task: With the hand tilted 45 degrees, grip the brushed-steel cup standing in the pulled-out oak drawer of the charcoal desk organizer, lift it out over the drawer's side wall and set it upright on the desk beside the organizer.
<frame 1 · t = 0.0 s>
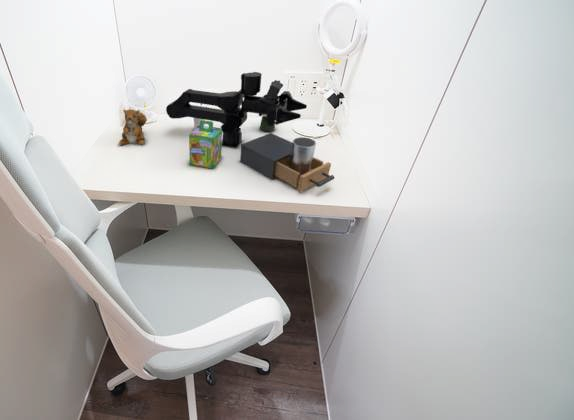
hand: (303, 111, 108), 17 cm above the table, tool horizontal, fingers open, 9 cm apart
organizer: (270, 163, 113), on the table
smoothie: (198, 130, 138), on the table, touching arm
character mug: (267, 130, 136), on the table
drawer: (302, 170, 102), point 3 cm above the table, slide at 10.0 cm, touching steel cup
stuffed squirrel: (135, 139, 133), on the table
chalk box: (206, 161, 116), on the table
steel cup: (298, 173, 104), point 2 cm above the table, touching drawer
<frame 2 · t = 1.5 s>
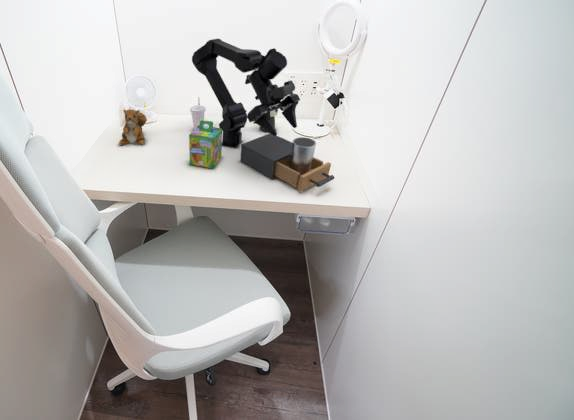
hand: (285, 131, 102), 14 cm above the table, tool tilted 45°, fingers open, 9 cm apart
smoothie: (198, 130, 138), on the table
everything else where it was.
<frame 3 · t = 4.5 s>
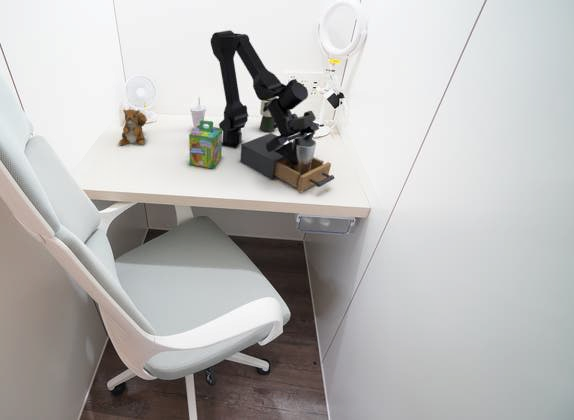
hand: (304, 161, 100), 7 cm above the table, tool tilted 45°, fingers closed on steel cup, 7 cm apart
steel cup: (298, 173, 104), point 2 cm above the table, touching drawer, gripper
everything else where it was.
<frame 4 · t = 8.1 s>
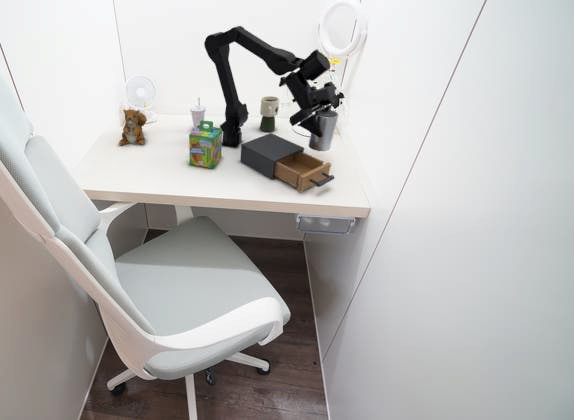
hand: (326, 133, 101), 13 cm above the table, tool tilted 45°, fingers closed on steel cup, 7 cm apart
drawer: (302, 170, 102), point 3 cm above the table, slide at 10.0 cm
steel cup: (319, 146, 105), point 8 cm above the table, touching gripper
everything else where it was.
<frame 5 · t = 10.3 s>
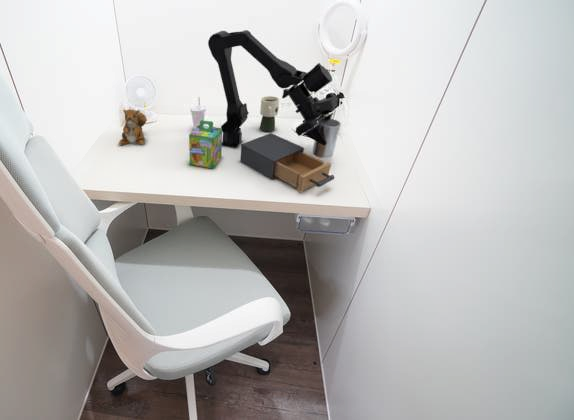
hand: (329, 140, 107), 9 cm above the table, tool tilted 45°, fingers closed on steel cup, 7 cm apart
steel cup: (322, 153, 110), point 4 cm above the table, touching gripper
everything else where it was.
when the fingers open (5 cm above the table, at t = 12.1 s): steel cup stays where it is, on the table.
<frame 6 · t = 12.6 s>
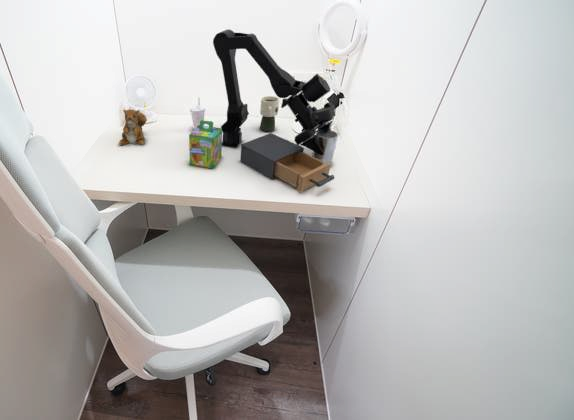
hand: (327, 149, 108), 6 cm above the table, tool tilted 45°, fingers open, 9 cm apart
steel cup: (320, 163, 113), on the table
everything else where it was.
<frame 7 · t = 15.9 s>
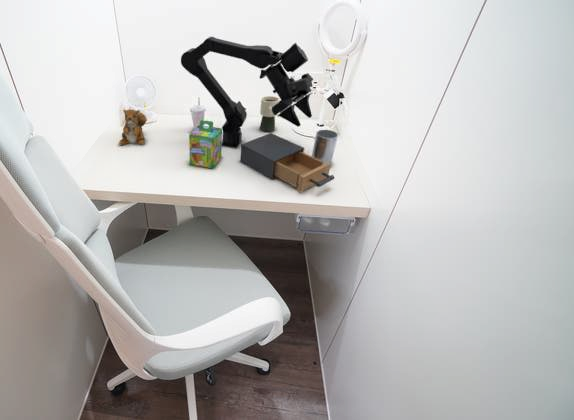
hand: (305, 121, 109), 13 cm above the table, tool tilted 45°, fingers open, 9 cm apart
nothing on the table moved.
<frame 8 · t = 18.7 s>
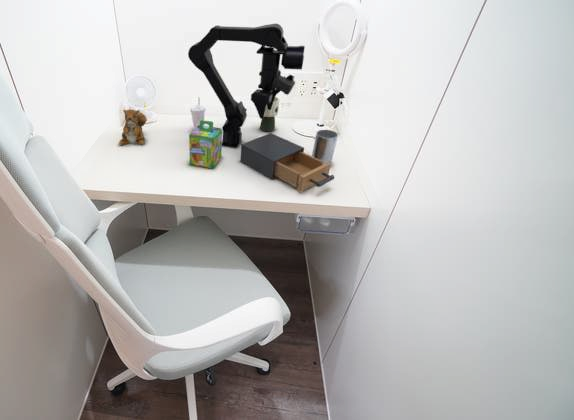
hand: (265, 113, 116), 13 cm above the table, tool pointing down, fingers open, 9 cm apart
nothing on the table moved.
at the end: steel cup inside the target area (0.0 cm from its centre), on the table; steel cup tilted 0°; the gripper is holding nothing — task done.
